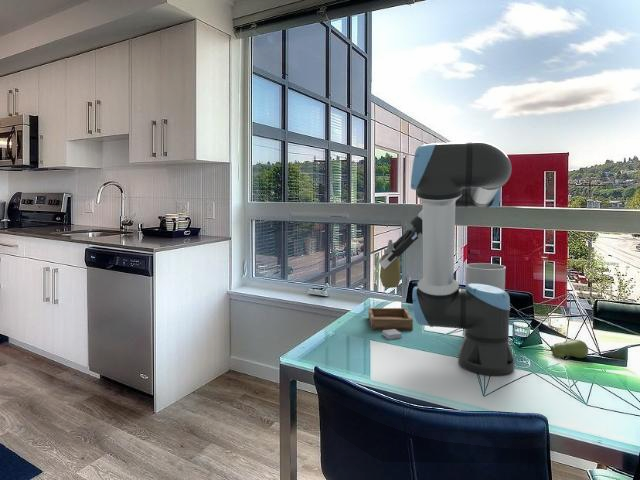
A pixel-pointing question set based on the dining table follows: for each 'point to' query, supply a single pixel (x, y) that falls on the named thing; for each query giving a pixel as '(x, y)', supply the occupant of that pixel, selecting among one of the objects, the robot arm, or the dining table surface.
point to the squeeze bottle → (390, 269)
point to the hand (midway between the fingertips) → (381, 264)
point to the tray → (390, 319)
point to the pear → (570, 349)
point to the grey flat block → (391, 334)
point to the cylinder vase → (486, 274)
